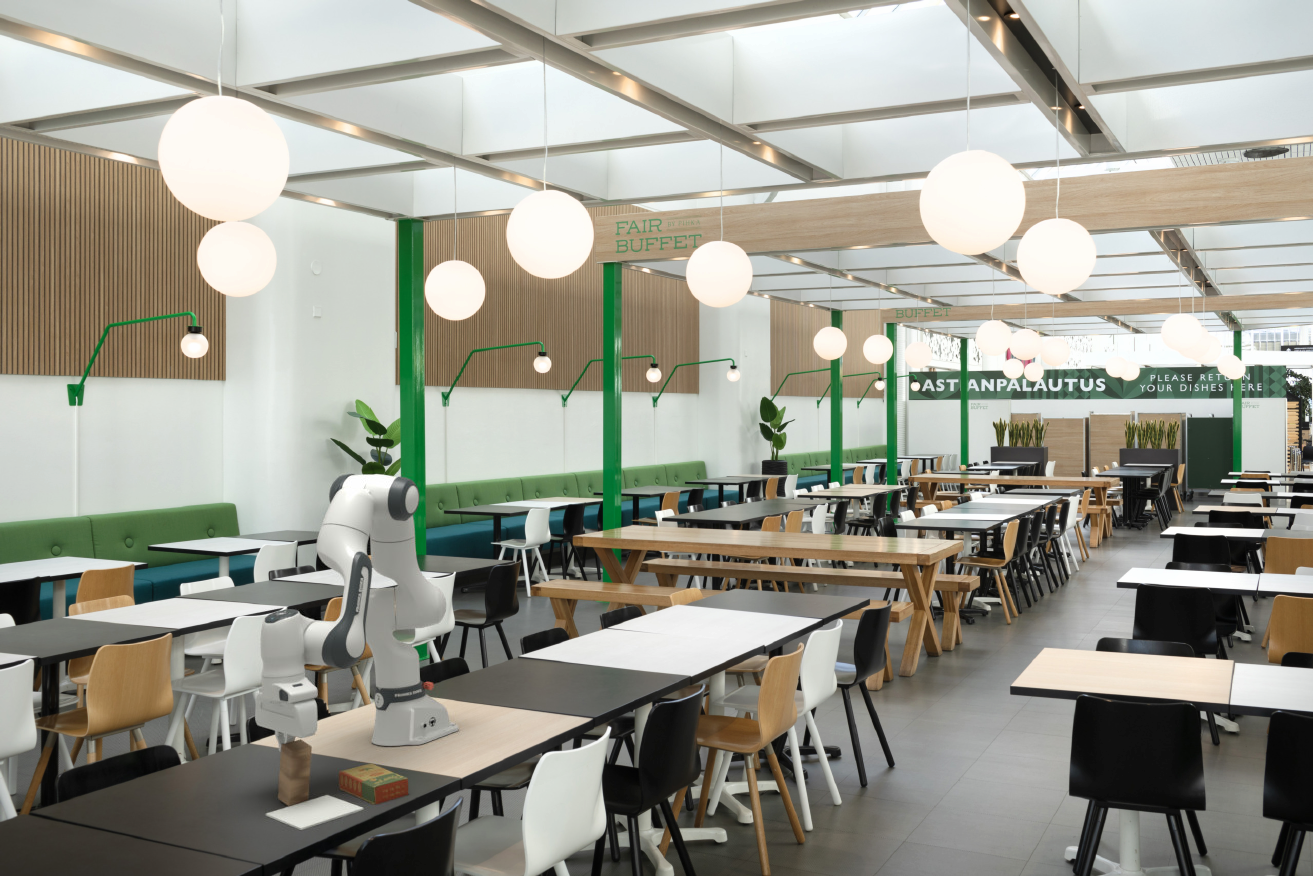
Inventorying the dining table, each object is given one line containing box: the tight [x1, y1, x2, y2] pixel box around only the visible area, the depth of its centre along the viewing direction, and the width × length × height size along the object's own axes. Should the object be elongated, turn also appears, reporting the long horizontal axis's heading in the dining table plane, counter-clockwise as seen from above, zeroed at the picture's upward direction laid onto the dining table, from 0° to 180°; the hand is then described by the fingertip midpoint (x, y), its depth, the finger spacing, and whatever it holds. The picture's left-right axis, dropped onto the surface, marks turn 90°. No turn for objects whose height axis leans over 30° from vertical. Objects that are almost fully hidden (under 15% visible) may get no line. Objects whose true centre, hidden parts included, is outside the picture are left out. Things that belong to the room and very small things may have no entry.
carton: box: [338, 763, 409, 806], centre depth 225 cm, size 8×16×4 cm, turn 44°
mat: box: [265, 794, 365, 831], centre depth 213 cm, size 14×14×1 cm
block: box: [277, 738, 313, 807], centre depth 220 cm, size 4×4×12 cm
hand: (286, 752), depth 222 cm, fingers closed
